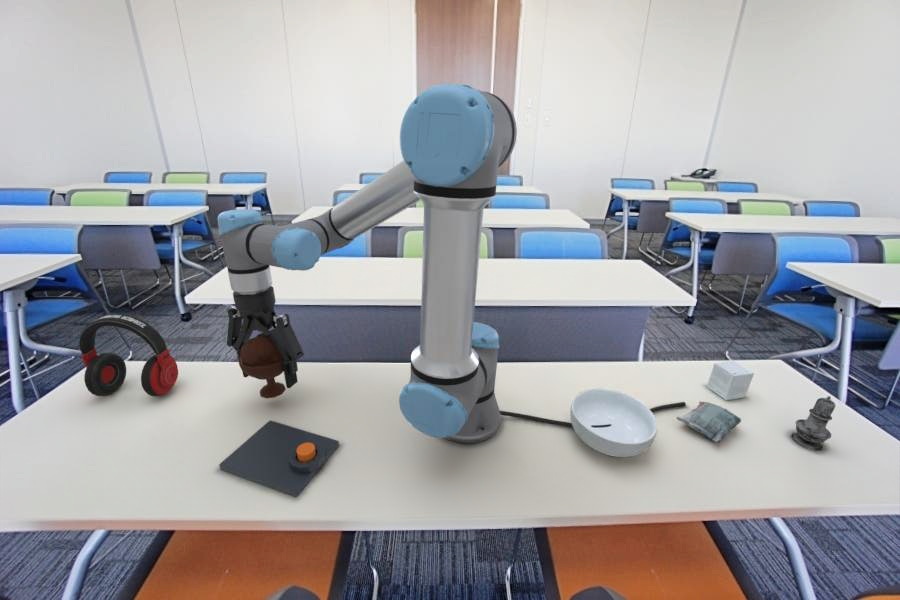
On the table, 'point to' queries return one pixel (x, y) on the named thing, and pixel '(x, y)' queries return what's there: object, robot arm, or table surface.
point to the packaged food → (710, 420)
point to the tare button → (306, 452)
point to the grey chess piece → (815, 425)
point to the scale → (279, 458)
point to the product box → (730, 380)
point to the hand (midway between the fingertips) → (270, 379)
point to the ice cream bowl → (263, 364)
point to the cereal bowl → (613, 422)
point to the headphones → (110, 368)
